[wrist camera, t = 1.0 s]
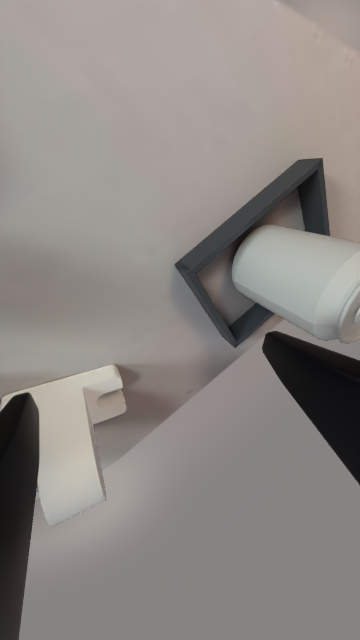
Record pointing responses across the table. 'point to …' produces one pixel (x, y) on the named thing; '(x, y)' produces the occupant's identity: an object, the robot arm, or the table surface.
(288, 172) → the dark grey rectangular frame
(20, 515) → the robot arm
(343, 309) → the can
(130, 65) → the table surface
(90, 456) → the white phone stand
